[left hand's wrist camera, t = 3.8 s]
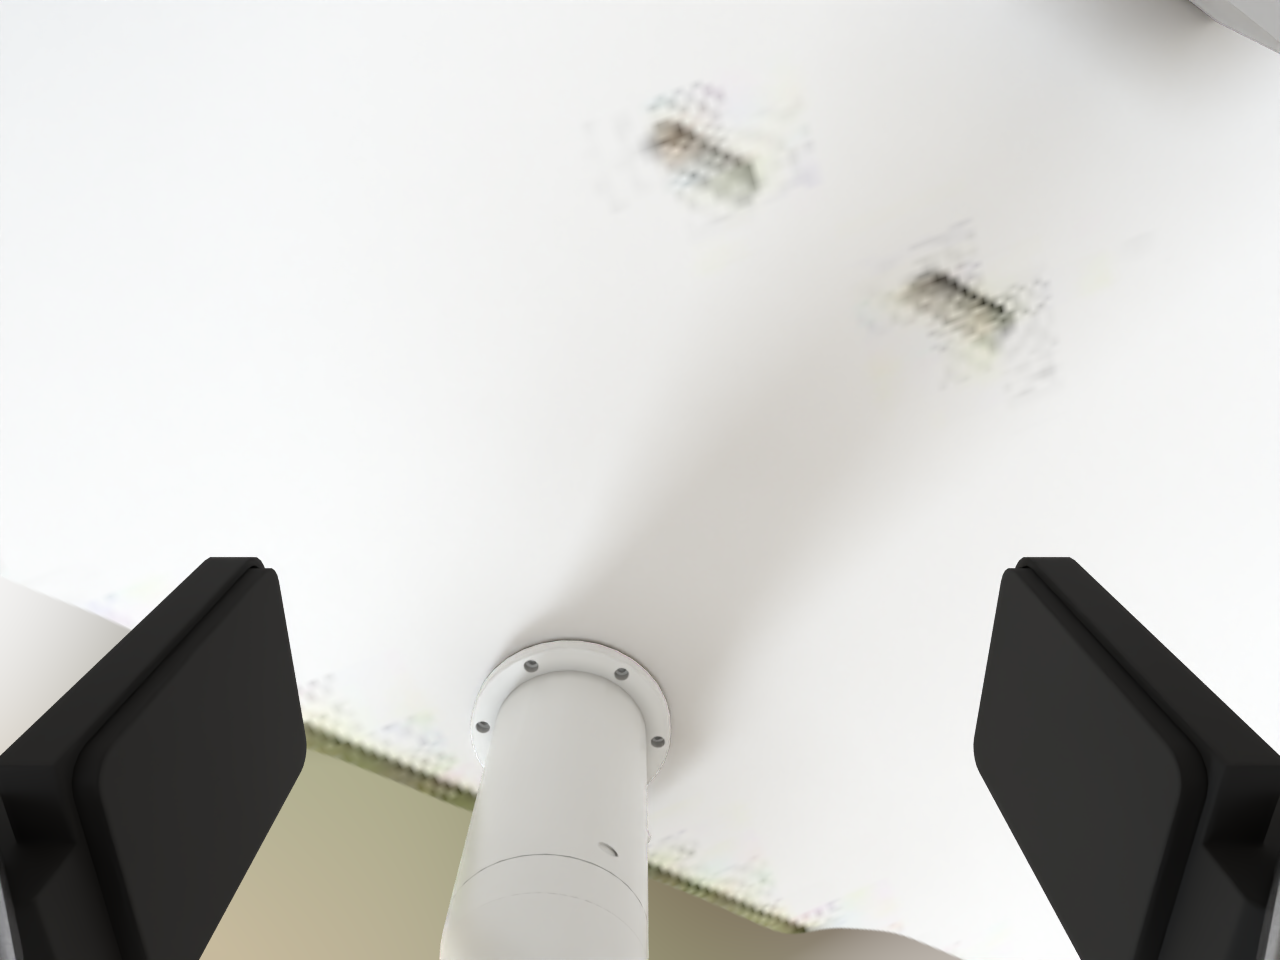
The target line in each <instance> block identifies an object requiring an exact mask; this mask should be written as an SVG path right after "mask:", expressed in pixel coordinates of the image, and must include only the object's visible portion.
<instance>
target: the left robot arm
mask: <svg viewBox="0 0 1280 960" xmlns="http://www.w3.org/2000/svg"><path fill="white" fill-rule="evenodd" d="M531 660H533V661H531ZM620 668H624V669H620ZM470 731H471V738H472V745H473V748H474V750H475V753H476V756H477V758H478V761H479V762H480V764H481V765H482V767H483V768H484V770H483V774H482V778H481V782H480V785H479V789H478V793H477V797H476V801H475V805H474V809H473V813H472V817H471V821H470V826H469V829H468V833H467V837H466V841H465V845H464V849H463V853H462V857H461V861H460V865H459V869H458V873H457V877H456V881H455V885H454V889H453V893H452V897H451V901H450V905H449V909H448V913H447V918H446V922H445V926H444V930H443V934H442V940H441V946H440V960H649V942H648V843H649V841H650V838H651V835H650V833H649V831H648V829H647V785H648V784H649V783H650V782H651V781H652V779H653V778H654V777H655V776H656V775H657V774H658V772H659V770H660V768H661V767H662V765H663V763H664V762H665V759H666V756H667V753H668V750H669V747H670V737H671V723H670V713H669V709H668V706H667V702H666V699H665V697H664V695H663V693H662V691H661V689H660V687H659V685H658V684H657V682H656V681H655V680H654V679H653V678H652V676H651V675H650V674H649V673H648V671H647V670H645V669H644V668H643V667H642V666H640V665H639V664H638V663H637V662H636V661H634V660H633V659H631V658H630V657H628V656H626V655H624V654H622V653H621V652H619V651H617V650H614V649H612V648H609V647H606V646H603V645H600V644H596V643H590V642H584V641H554V642H547V643H541V644H538V645H535V646H532V647H529V648H526V649H523V650H521V651H520V652H518V653H516V654H514V655H512V656H511V657H509V658H507V659H506V660H505V661H503V662H502V663H501V664H500V665H499V666H498V667H496V668H495V669H494V670H493V671H492V673H491V674H490V675H489V676H488V678H487V679H486V680H485V682H484V683H483V685H482V687H481V689H480V691H479V693H478V695H477V697H476V701H475V704H474V708H473V711H472V716H471V724H470ZM305 757H306V736H305V730H304V724H303V718H302V713H301V707H300V701H299V695H298V689H297V684H296V678H295V672H294V666H293V660H292V655H291V649H290V643H289V637H288V631H287V626H286V620H285V614H284V608H283V602H282V597H281V591H280V585H279V580H278V576H277V574H276V572H275V570H273V569H272V568H264V565H263V564H262V562H261V560H259V559H258V558H257V557H210V558H208V559H207V560H205V561H204V562H203V563H202V564H201V565H200V566H199V567H198V568H197V569H196V570H195V571H194V572H192V573H191V574H190V575H189V576H188V577H187V578H186V579H185V580H184V581H183V582H182V583H181V584H180V585H179V586H178V587H177V588H176V589H175V590H174V591H173V592H171V593H170V594H169V595H168V596H167V597H166V598H165V599H164V600H163V601H162V602H161V603H160V604H159V605H158V606H157V607H156V608H155V609H154V610H153V611H152V612H150V613H149V614H148V615H147V616H146V617H145V618H144V619H143V620H142V621H141V622H140V623H139V624H138V625H137V626H136V627H135V628H134V629H133V630H132V631H131V632H130V633H128V634H127V635H126V636H125V637H124V638H123V639H122V640H121V641H120V642H119V643H118V644H117V645H116V646H115V647H114V648H113V649H112V650H111V651H110V652H109V653H107V654H106V655H105V656H104V657H103V658H102V659H101V660H100V661H99V662H98V663H97V664H96V665H95V666H94V667H93V668H92V669H91V670H90V671H89V672H88V673H86V674H85V675H84V676H83V677H82V678H81V679H80V680H79V681H78V682H77V683H76V684H75V685H74V686H73V687H72V688H71V689H70V690H69V691H68V692H67V693H66V694H64V695H63V696H62V697H61V698H60V699H59V700H58V701H57V702H56V703H55V704H54V705H53V706H52V707H51V708H50V709H49V710H48V711H47V712H46V713H45V714H44V715H42V716H41V717H40V718H39V719H38V720H37V721H36V722H35V723H34V724H33V725H32V726H31V727H30V728H29V729H28V730H27V731H26V732H25V733H24V734H23V735H21V737H19V738H18V739H17V740H16V741H15V742H14V743H13V744H12V745H11V746H10V747H9V748H8V749H7V750H6V751H5V752H4V753H3V754H2V755H0V960H199V959H200V957H201V955H202V953H203V951H204V950H205V948H206V946H207V944H208V942H209V940H210V939H211V937H212V935H213V933H214V931H215V929H216V927H217V926H218V924H219V922H220V920H221V918H222V916H223V915H224V913H225V911H226V909H227V907H228V905H229V903H230V902H231V900H232V898H233V896H234V894H235V892H236V891H237V889H238V887H239V885H240V883H241V881H242V880H243V878H244V876H245V874H246V872H247V870H248V868H249V867H250V865H251V863H252V861H253V859H254V857H255V855H256V854H257V852H258V850H259V848H260V846H261V844H262V842H263V841H264V839H265V837H266V835H267V833H268V832H269V830H270V828H271V826H272V824H273V822H274V820H275V819H276V817H277V815H278V813H279V811H280V809H281V807H282V806H283V804H284V802H285V800H286V798H287V796H288V795H289V793H290V791H291V789H292V787H293V785H294V784H295V782H296V780H297V778H298V776H299V774H300V772H301V770H302V768H303V765H304V762H305ZM974 757H975V762H976V765H977V768H978V770H979V772H980V774H981V776H982V778H983V780H984V782H985V784H986V785H987V787H988V789H989V791H990V793H991V795H992V796H993V798H994V800H995V802H996V804H997V806H998V808H999V809H1000V811H1001V813H1002V815H1003V817H1004V819H1005V820H1006V822H1007V824H1008V826H1009V828H1010V830H1011V832H1012V833H1013V835H1014V837H1015V839H1016V841H1017V843H1018V844H1019V846H1020V848H1021V850H1022V852H1023V854H1024V856H1025V857H1026V859H1027V861H1028V863H1029V865H1030V867H1031V868H1032V870H1033V872H1034V874H1035V876H1036V878H1037V880H1038V881H1039V883H1040V885H1041V887H1042V889H1043V891H1044V892H1045V894H1046V896H1047V898H1048V900H1049V902H1050V904H1051V905H1052V907H1053V909H1054V911H1055V913H1056V915H1057V916H1058V918H1059V920H1060V922H1061V924H1062V926H1063V927H1064V929H1065V931H1066V933H1067V935H1068V937H1069V939H1070V940H1071V942H1072V944H1073V946H1074V948H1075V950H1076V951H1077V953H1078V955H1079V957H1080V959H1081V960H1280V755H1278V754H1277V753H1276V752H1275V751H1274V750H1273V749H1272V748H1271V747H1270V746H1269V745H1268V744H1267V743H1266V742H1265V741H1264V740H1263V739H1262V738H1261V737H1260V736H1259V735H1258V734H1256V733H1255V732H1254V731H1253V730H1252V729H1251V728H1250V727H1249V726H1248V725H1247V724H1246V723H1245V722H1244V721H1243V720H1242V719H1241V718H1240V717H1239V716H1238V715H1237V714H1235V713H1234V712H1233V711H1232V710H1231V709H1230V708H1229V707H1228V706H1227V705H1226V704H1225V703H1224V702H1223V701H1222V700H1221V699H1220V698H1219V697H1218V696H1217V695H1216V694H1214V693H1213V692H1212V691H1211V690H1210V689H1209V688H1208V687H1207V686H1206V685H1205V684H1204V683H1203V682H1202V681H1201V680H1200V679H1199V678H1198V677H1197V676H1196V675H1195V674H1194V673H1192V672H1191V671H1190V670H1189V669H1188V668H1187V667H1186V666H1185V665H1184V664H1183V663H1182V662H1181V661H1180V660H1179V659H1178V658H1177V657H1176V656H1175V655H1174V654H1173V653H1171V652H1170V651H1169V650H1168V649H1167V648H1166V647H1165V646H1164V645H1163V644H1162V643H1161V642H1160V641H1159V640H1158V639H1157V638H1156V637H1155V636H1154V635H1153V634H1152V633H1150V632H1149V631H1148V630H1147V629H1146V628H1145V627H1144V626H1143V625H1142V624H1141V623H1140V622H1139V621H1138V620H1137V619H1136V618H1135V617H1134V616H1133V615H1132V614H1131V613H1130V612H1128V611H1127V610H1126V609H1125V608H1124V607H1123V606H1122V605H1121V604H1120V603H1119V602H1118V601H1117V600H1116V599H1115V598H1114V597H1113V596H1112V595H1111V594H1110V593H1109V592H1107V591H1106V590H1105V589H1104V588H1103V587H1102V586H1101V585H1100V584H1099V583H1098V582H1097V581H1096V580H1095V579H1094V578H1093V577H1092V576H1091V575H1090V574H1089V573H1088V572H1086V571H1085V570H1084V569H1083V568H1082V567H1081V566H1080V565H1079V564H1078V563H1077V562H1076V561H1075V560H1073V559H1072V558H1070V557H1023V558H1022V559H1021V560H1019V562H1018V564H1017V565H1016V568H1008V569H1007V570H1005V572H1004V574H1003V576H1002V580H1001V585H1000V591H999V597H998V602H997V608H996V614H995V620H994V626H993V631H992V637H991V643H990V649H989V655H988V660H987V666H986V672H985V678H984V684H983V689H982V695H981V701H980V707H979V713H978V718H977V724H976V730H975V736H974Z"/></svg>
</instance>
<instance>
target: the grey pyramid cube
mask: <svg viewBox="0 0 1280 960" xmlns="http://www.w3.org/2000/svg"><path fill="white" fill-rule="evenodd" d="M1189 1H1190V2H1192V3H1193V4H1194V5H1196V6H1197V7H1198V8H1199V9H1201V10H1202V11H1203V12H1205V13H1206V14H1207V15H1208V16H1210V17H1211V18H1212V19H1213V20H1215V21H1216V22H1218V23H1220V24H1222V25H1224V26H1226V27H1228V28H1230V29H1232V30H1234V31H1236V32H1238V33H1240V34H1242V35H1244V36H1246V37H1248V38H1249V39H1251V40H1253V41H1255V42H1257V43H1259V44H1261V45H1263V46H1265V47H1267V48H1269V49H1271V50H1273V51H1275V52H1277V53H1279V54H1280V0H1189Z"/></svg>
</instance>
